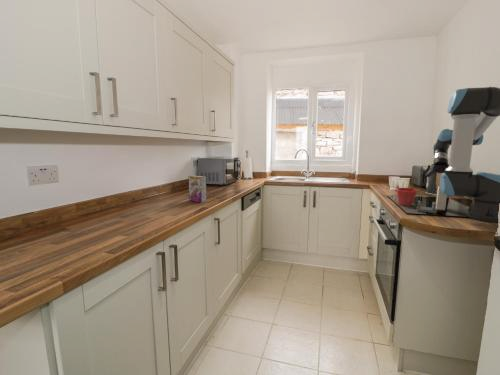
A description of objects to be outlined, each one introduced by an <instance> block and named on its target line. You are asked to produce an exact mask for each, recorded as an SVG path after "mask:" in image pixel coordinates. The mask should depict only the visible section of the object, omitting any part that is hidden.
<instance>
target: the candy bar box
mask: <svg viewBox="0 0 500 375" xmlns="http://www.w3.org/2000/svg"><path fill="white" fill-rule="evenodd" d="M188 200H189V202H196V203H201V204H202V203H203V204H204V203H206V202H207V176H202V175H195V174H193V175H189V176H188Z"/></svg>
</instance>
